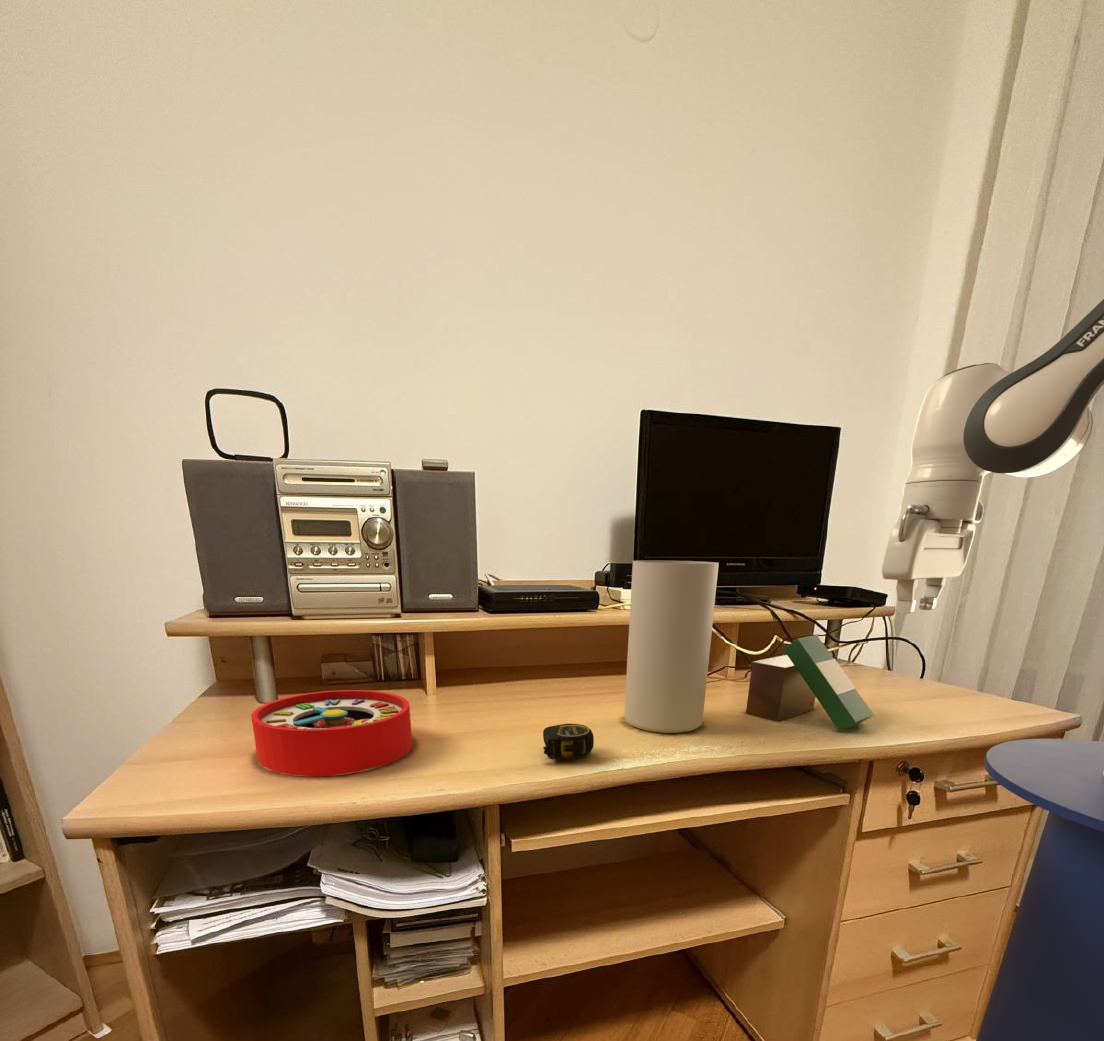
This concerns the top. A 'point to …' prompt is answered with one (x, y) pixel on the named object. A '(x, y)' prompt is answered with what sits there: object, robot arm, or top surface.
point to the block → (778, 690)
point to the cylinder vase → (669, 644)
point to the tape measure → (568, 741)
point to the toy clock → (332, 732)
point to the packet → (828, 682)
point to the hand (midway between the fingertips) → (915, 611)
